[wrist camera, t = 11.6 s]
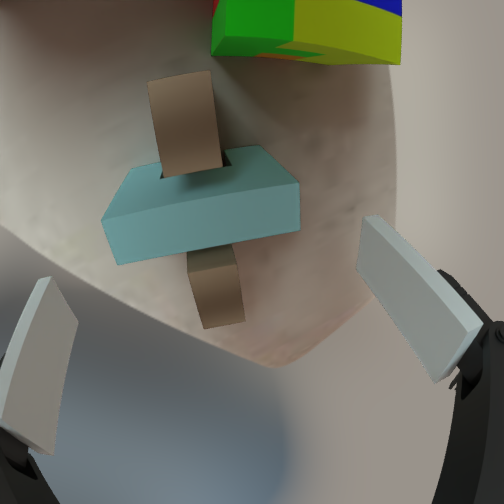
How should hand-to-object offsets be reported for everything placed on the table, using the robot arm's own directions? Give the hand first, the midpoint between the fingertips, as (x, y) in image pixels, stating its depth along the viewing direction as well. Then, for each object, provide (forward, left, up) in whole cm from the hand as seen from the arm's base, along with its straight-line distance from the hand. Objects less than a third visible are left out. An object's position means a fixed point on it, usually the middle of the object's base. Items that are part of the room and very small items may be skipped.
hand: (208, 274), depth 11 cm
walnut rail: (0, 0, -15) cm, 15 cm away
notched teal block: (0, 0, -15) cm, 15 cm away
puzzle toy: (-14, +8, -16) cm, 22 cm away
